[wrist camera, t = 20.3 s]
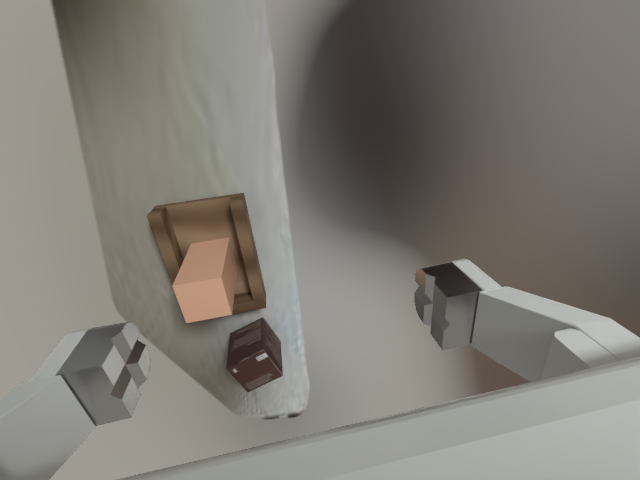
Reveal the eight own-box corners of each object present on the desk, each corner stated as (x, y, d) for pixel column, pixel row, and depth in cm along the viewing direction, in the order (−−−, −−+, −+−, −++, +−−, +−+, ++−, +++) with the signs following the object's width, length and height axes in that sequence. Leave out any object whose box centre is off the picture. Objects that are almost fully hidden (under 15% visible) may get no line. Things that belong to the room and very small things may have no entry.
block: (191, 243, 42) (172, 286, 33) (229, 237, 42) (221, 277, 33) (201, 275, 44) (186, 323, 35) (237, 269, 44) (231, 314, 35)
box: (248, 355, 53) (246, 393, 46) (229, 332, 50) (224, 368, 44) (281, 340, 53) (284, 376, 46) (263, 315, 50) (264, 350, 43)
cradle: (155, 205, 40) (146, 216, 37) (243, 193, 41) (242, 201, 38) (191, 306, 47) (186, 322, 44) (265, 293, 48) (266, 307, 45)
